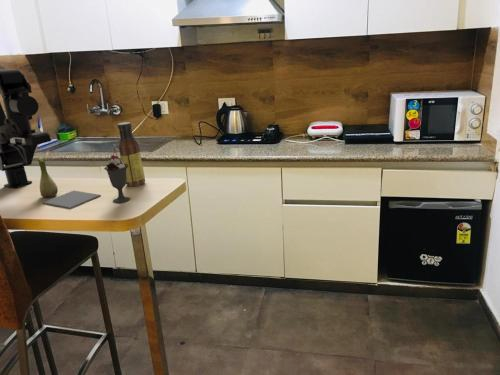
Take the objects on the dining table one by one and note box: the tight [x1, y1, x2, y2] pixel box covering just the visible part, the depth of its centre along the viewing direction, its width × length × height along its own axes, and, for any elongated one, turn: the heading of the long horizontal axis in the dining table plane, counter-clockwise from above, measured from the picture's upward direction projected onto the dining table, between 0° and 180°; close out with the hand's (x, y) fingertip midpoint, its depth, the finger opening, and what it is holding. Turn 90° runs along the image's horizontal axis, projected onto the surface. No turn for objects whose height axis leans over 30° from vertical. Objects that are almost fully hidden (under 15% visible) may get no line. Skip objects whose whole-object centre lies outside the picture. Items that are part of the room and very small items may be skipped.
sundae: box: [103, 147, 131, 204], centre depth 121 cm, size 7×7×15 cm
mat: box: [42, 190, 102, 210], centre depth 126 cm, size 12×11×1 cm
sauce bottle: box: [117, 121, 146, 187], centre depth 134 cm, size 6×6×20 cm
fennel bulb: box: [37, 157, 58, 199], centre depth 129 cm, size 6×5×12 cm
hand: (29, 164), depth 132 cm, fingers closed
